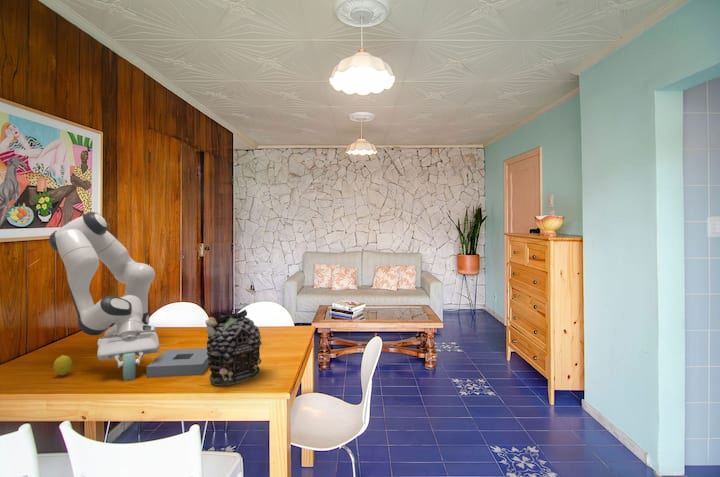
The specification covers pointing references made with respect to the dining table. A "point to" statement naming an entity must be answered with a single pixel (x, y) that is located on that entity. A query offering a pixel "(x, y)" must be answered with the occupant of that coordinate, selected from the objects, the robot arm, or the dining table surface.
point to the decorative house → (232, 348)
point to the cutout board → (179, 363)
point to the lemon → (62, 365)
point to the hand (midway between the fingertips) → (129, 365)
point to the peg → (129, 366)
